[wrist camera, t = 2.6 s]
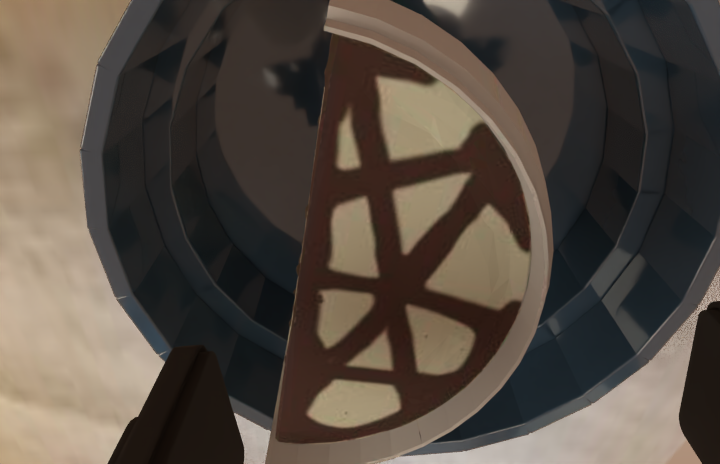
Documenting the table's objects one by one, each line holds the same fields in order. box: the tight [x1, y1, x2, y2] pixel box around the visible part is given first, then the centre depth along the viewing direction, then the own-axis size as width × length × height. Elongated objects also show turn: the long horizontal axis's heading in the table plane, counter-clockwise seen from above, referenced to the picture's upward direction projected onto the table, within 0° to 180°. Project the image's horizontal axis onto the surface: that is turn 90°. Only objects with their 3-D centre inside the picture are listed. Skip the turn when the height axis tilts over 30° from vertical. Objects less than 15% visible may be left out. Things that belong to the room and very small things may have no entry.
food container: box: [265, 0, 554, 464], centre depth 17 cm, size 12×6×10 cm, turn 170°
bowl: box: [80, 0, 720, 457], centre depth 18 cm, size 18×18×6 cm
